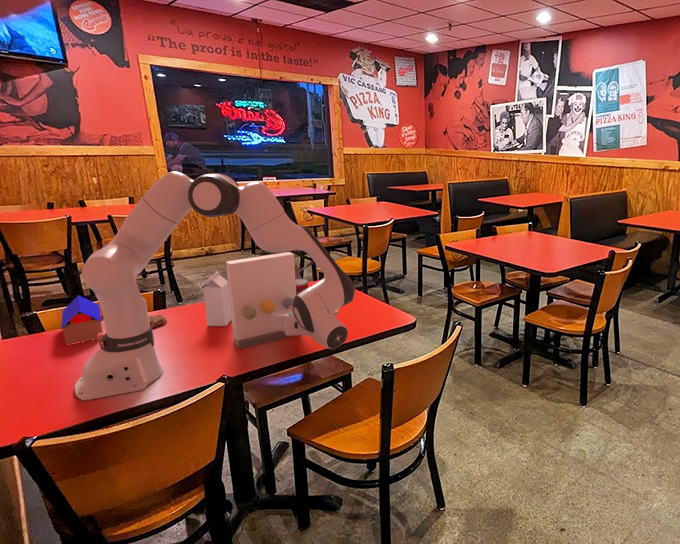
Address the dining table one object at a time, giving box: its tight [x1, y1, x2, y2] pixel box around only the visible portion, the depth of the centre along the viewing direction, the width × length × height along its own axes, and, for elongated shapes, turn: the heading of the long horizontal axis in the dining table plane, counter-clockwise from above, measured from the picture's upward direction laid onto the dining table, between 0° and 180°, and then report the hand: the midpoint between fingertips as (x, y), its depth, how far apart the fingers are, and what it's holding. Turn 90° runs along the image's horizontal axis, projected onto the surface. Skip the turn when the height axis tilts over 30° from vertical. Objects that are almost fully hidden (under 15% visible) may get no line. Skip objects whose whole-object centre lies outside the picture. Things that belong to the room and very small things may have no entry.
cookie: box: [148, 314, 168, 329], centre depth 165 cm, size 10×11×3 cm
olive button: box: [242, 306, 256, 319], centre depth 141 cm, size 4×3×4 cm, turn 120°
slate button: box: [283, 297, 294, 309], centre depth 148 cm, size 4×3×4 cm, turn 120°
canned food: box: [295, 278, 309, 295], centre depth 177 cm, size 8×8×11 cm
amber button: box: [262, 300, 275, 314], centre depth 145 cm, size 4×3×4 cm, turn 121°
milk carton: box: [202, 271, 232, 327], centre depth 162 cm, size 7×7×19 cm
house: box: [60, 295, 104, 345], centre depth 158 cm, size 12×20×12 cm, turn 30°
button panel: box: [225, 251, 296, 350], centre depth 147 cm, size 22×6×28 cm, turn 120°
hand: (292, 307), depth 145 cm, fingers closed
